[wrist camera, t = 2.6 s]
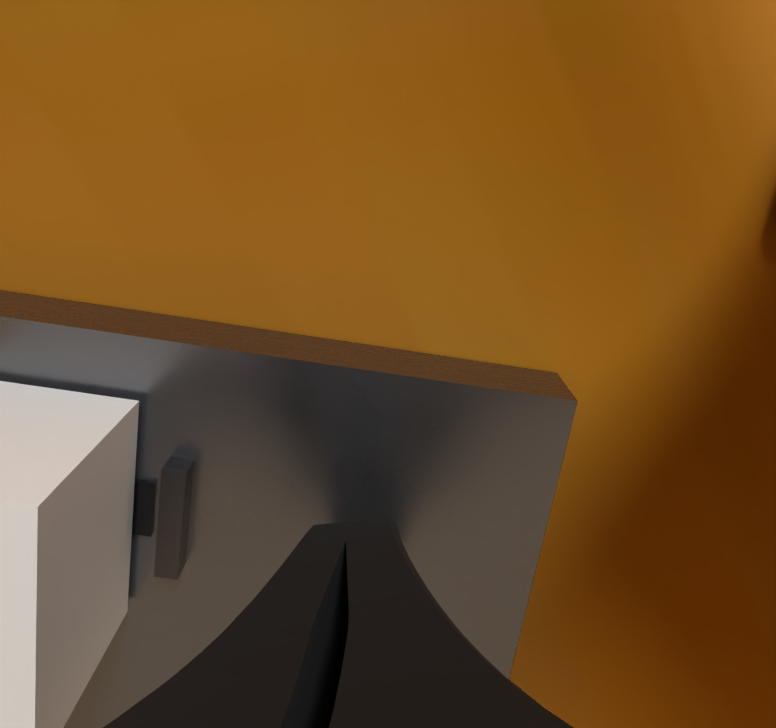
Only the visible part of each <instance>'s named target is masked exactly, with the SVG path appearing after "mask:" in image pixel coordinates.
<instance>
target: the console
mask: <svg viewBox="0 0 776 728" xmlns="http://www.w3.org/2000/svg"><path fill="white" fill-rule="evenodd" d="M0 381H4V382H11V383H18V384H25V385H32V386H39V387H46V388H53V389H60V390H67V391H74V392H81V393H88V394H95V395H102V396H109V397H116V398H123V399H130V400H137V401H139V414H138V432H137V449H136V467H135V485H134V502H133V520H132V538H131V555H130V573H129V591H128V608H127V613H126V615H125V617H124V619H123V621H122V622H121V624H120V626H119V628H118V630H117V631H116V633H115V635H114V637H113V639H112V641H111V642H110V644H109V646H108V648H107V650H106V651H105V653H104V655H103V657H102V659H101V660H100V662H99V664H98V666H97V668H96V669H95V671H94V673H93V675H92V677H91V679H90V680H89V682H88V684H87V686H86V688H85V689H84V691H83V693H82V695H81V697H80V698H79V700H78V702H77V704H76V706H75V707H74V709H73V711H72V713H71V715H70V717H69V718H68V720H67V722H66V724H65V726H64V727H63V728H103V727H104V726H106V725H107V724H109V723H110V722H112V721H113V720H115V719H116V718H117V717H119V716H120V715H122V714H123V713H124V712H126V711H127V710H128V709H130V708H131V707H132V706H134V705H135V704H136V703H138V702H139V701H141V700H142V699H143V698H145V697H146V696H147V695H149V694H150V693H151V692H153V691H154V690H156V689H157V688H158V687H160V686H161V685H162V684H164V683H165V682H166V681H168V680H169V679H170V678H171V677H173V676H174V675H175V674H176V673H177V672H179V671H180V670H181V669H182V668H183V667H184V666H186V665H187V664H188V663H189V662H190V661H191V660H193V659H194V658H195V657H196V656H197V655H198V654H200V653H201V652H202V651H203V650H204V649H205V648H206V647H207V646H208V645H209V644H211V643H212V642H213V641H214V640H215V639H216V638H217V637H218V636H219V635H220V634H221V633H222V632H223V631H224V630H225V629H226V628H227V627H228V626H229V625H230V624H231V623H232V622H233V621H234V619H235V618H236V617H237V616H238V615H239V614H240V613H241V612H242V611H243V610H244V609H245V608H246V607H247V606H248V605H249V603H250V602H251V601H252V600H253V599H254V598H255V597H256V595H257V594H258V593H259V592H260V591H261V589H262V588H263V587H264V586H265V585H266V583H267V582H268V581H269V580H270V579H271V577H272V576H273V575H274V574H275V573H276V571H277V570H278V569H279V568H280V566H281V565H282V564H283V563H284V561H285V560H286V559H287V557H288V556H289V555H290V554H291V552H292V551H293V550H294V548H295V547H296V546H297V544H298V543H299V542H300V540H301V539H302V538H303V537H304V535H305V534H306V533H307V532H308V530H309V529H310V528H311V527H312V526H313V525H317V524H328V523H339V522H349V521H360V520H371V519H382V518H391V519H392V520H394V521H395V522H396V523H397V524H398V529H399V534H400V537H401V540H402V543H403V545H404V547H405V549H406V551H407V554H408V556H409V558H410V560H411V561H412V563H413V565H414V567H415V569H416V570H417V572H418V573H419V575H420V577H421V578H422V580H423V582H424V583H425V585H426V586H427V588H428V590H429V591H430V592H431V594H432V595H433V597H434V598H435V600H436V601H437V602H438V604H439V605H440V606H441V608H442V609H443V610H444V612H445V613H446V614H447V616H448V617H449V618H450V619H451V621H452V622H453V623H454V624H455V625H456V627H457V628H458V629H459V630H460V631H461V633H462V634H463V635H464V636H465V637H466V638H467V639H468V640H469V641H470V642H471V644H472V645H473V646H474V647H475V648H476V649H477V650H478V651H479V652H480V653H481V654H482V655H483V656H484V657H485V658H486V659H487V660H488V661H489V662H490V663H491V664H492V665H493V666H494V667H496V668H497V669H498V670H499V671H500V672H501V673H502V674H503V675H504V676H505V677H506V678H507V679H509V676H510V672H511V668H512V664H513V660H514V656H515V652H516V648H517V644H518V640H519V636H520V632H521V628H522V624H523V620H524V616H525V612H526V608H527V604H528V600H529V596H530V591H531V587H532V583H533V579H534V575H535V571H536V567H537V563H538V559H539V555H540V551H541V547H542V543H543V539H544V535H545V531H546V527H547V523H548V519H549V515H550V511H551V507H552V503H553V498H554V494H555V490H556V486H557V482H558V478H559V474H560V470H561V466H562V462H563V458H564V454H565V450H566V446H567V442H568V438H569V434H570V430H571V426H572V422H573V418H574V414H575V410H576V406H577V400H576V398H575V397H574V396H573V394H572V393H571V392H570V390H569V389H568V388H567V386H566V385H565V383H564V382H563V381H562V379H561V378H560V377H559V375H558V374H557V373H553V372H547V371H540V370H533V369H526V368H520V367H513V366H506V365H500V364H493V363H486V362H479V361H473V360H466V359H459V358H453V357H446V356H439V355H432V354H426V353H419V352H412V351H405V350H399V349H392V348H385V347H379V346H372V345H365V344H358V343H352V342H345V341H338V340H332V339H325V338H318V337H311V336H305V335H298V334H291V333H284V332H278V331H271V330H264V329H258V328H251V327H244V326H237V325H231V324H224V323H217V322H211V321H204V320H197V319H190V318H184V317H177V316H170V315H163V314H157V313H150V312H143V311H137V310H130V309H123V308H116V307H110V306H103V305H96V304H89V303H83V302H76V301H69V300H63V299H56V298H49V297H42V296H36V295H29V294H22V293H16V292H9V291H2V290H0Z"/></svg>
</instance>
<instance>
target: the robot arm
mask: <svg viewBox="0 0 776 728" xmlns="http://www.w3.org/2000/svg"><path fill="white" fill-rule="evenodd" d="M103 728H573V727H572V726H570V725H569V724H567V723H566V722H564V721H563V720H561V719H560V718H558V717H557V716H555V715H554V714H552V713H551V712H549V711H548V710H546V709H545V708H544V707H542V706H541V705H540V704H539V703H537V702H536V701H535V700H534V699H532V698H531V697H530V696H529V695H527V694H526V693H525V692H524V691H522V690H521V689H520V688H519V687H517V686H516V685H515V684H514V683H512V682H511V681H510V680H509V679H507V678H506V677H505V676H504V675H503V674H502V673H501V672H500V671H499V670H498V669H497V668H496V667H494V666H493V665H492V664H491V663H490V662H489V661H488V660H487V659H486V658H485V657H484V656H483V655H482V654H481V653H480V652H479V651H478V650H477V649H476V648H475V647H474V646H473V645H472V644H471V642H470V641H469V640H468V639H467V638H466V637H465V636H464V635H463V634H462V633H461V631H460V630H459V629H458V628H457V627H456V625H455V624H454V623H453V622H452V621H451V619H450V618H449V617H448V616H447V614H446V613H445V612H444V610H443V609H442V608H441V606H440V605H439V604H438V602H437V601H436V600H435V598H434V597H433V595H432V594H431V592H430V591H429V590H428V588H427V586H426V585H425V583H424V582H423V580H422V578H421V577H420V575H419V573H418V572H417V570H416V569H415V567H414V565H413V563H412V561H411V560H410V558H409V556H408V554H407V551H406V549H405V547H404V545H403V543H402V540H401V537H400V534H399V529H398V524H397V523H396V522H395V521H394V520H392V519H391V518H382V519H371V520H360V521H349V522H339V523H328V524H317V525H313V526H312V527H311V528H310V529H309V530H308V532H307V533H306V534H305V535H304V537H303V538H302V539H301V540H300V542H299V543H298V544H297V546H296V547H295V548H294V550H293V551H292V552H291V554H290V555H289V556H288V557H287V559H286V560H285V561H284V563H283V564H282V565H281V566H280V568H279V569H278V570H277V571H276V573H275V574H274V575H273V576H272V577H271V579H270V580H269V581H268V582H267V583H266V585H265V586H264V587H263V588H262V589H261V591H260V592H259V593H258V594H257V595H256V597H255V598H254V599H253V600H252V601H251V602H250V603H249V605H248V606H247V607H246V608H245V609H244V610H243V611H242V612H241V613H240V614H239V615H238V616H237V617H236V618H235V619H234V621H233V622H232V623H231V624H230V625H229V626H228V627H227V628H226V629H225V630H224V631H223V632H222V633H221V634H220V635H219V636H218V637H217V638H216V639H215V640H214V641H213V642H212V643H211V644H209V645H208V646H207V647H206V648H205V649H204V650H203V651H202V652H201V653H200V654H198V655H197V656H196V657H195V658H194V659H193V660H191V661H190V662H189V663H188V664H187V665H186V666H184V667H183V668H182V669H181V670H180V671H179V672H177V673H176V674H175V675H174V676H173V677H171V678H170V679H169V680H168V681H166V682H165V683H164V684H162V685H161V686H160V687H158V688H157V689H156V690H154V691H153V692H151V693H150V694H149V695H147V696H146V697H145V698H143V699H142V700H141V701H139V702H138V703H136V704H135V705H134V706H132V707H131V708H130V709H128V710H127V711H126V712H124V713H123V714H122V715H120V716H119V717H117V718H116V719H115V720H113V721H112V722H110V723H109V724H107V725H106V726H104V727H103Z"/></svg>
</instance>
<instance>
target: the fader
mask: <svg viewBox="0 0 776 728" xmlns="http://www.w3.org/2000/svg"><path fill="white" fill-rule="evenodd" d="M138 414H139V401H137V400H130V399H123V398H116V397H109V396H102V395H95V394H88V393H81V392H74V391H67V390H60V389H53V388H46V387H39V386H32V385H25V384H18V383H11V382H4V381H0V728H63V727H64V726H65V724H66V722H67V720H68V718H69V717H70V715H71V713H72V711H73V709H74V707H75V706H76V704H77V702H78V700H79V698H80V697H81V695H82V693H83V691H84V689H85V688H86V686H87V684H88V682H89V680H90V679H91V677H92V675H93V673H94V671H95V669H96V668H97V666H98V664H99V662H100V660H101V659H102V657H103V655H104V653H105V651H106V650H107V648H108V646H109V644H110V642H111V641H112V639H113V637H114V635H115V633H116V631H117V630H118V628H119V626H120V624H121V622H122V621H123V619H124V617H125V615H126V613H127V608H128V591H129V573H130V555H131V538H132V520H133V502H134V485H135V467H136V449H137V432H138Z"/></svg>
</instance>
